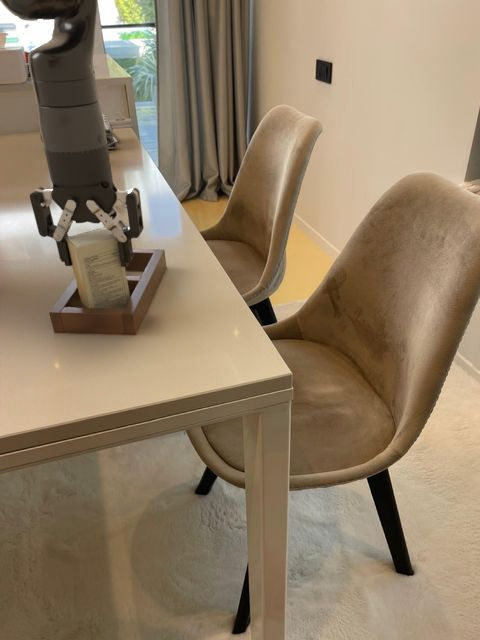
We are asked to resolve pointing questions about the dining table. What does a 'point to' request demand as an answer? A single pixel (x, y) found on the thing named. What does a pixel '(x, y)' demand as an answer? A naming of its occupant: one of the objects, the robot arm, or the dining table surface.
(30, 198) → the robot arm
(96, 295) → the cosmetic box
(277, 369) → the dining table surface
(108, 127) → the towel
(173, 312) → the dining table surface
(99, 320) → the stand
